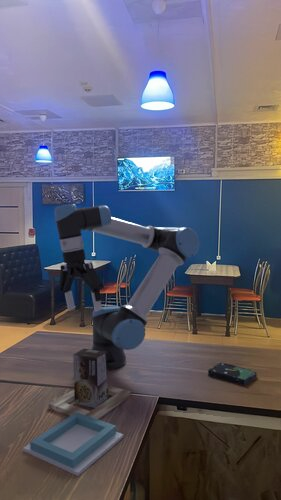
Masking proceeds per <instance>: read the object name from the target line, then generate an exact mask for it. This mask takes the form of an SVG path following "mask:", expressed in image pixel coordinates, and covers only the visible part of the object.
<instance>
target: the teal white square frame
mask: <svg viewBox="0 0 281 500" xmlns="http://www.w3.org/2000/svg"><path fill="white" fill-rule="evenodd" d="M123 438H124V434H123V433H121V432H117V425H115V424H112V423H109V422H106V421H103V420H100V419H95V418H92V417H89V416H86V415H83V414H80V413H77V412H76V413H74V414H73V415H71V416H68V417H66V418H65V419H63V420H62V421H59V423H57V424H55V425H54V426H53V427H51V428H49V429H47V430H45V432H43V433H41V434H39V436H36V437H35V438H33V439H31V440H30V441H29V443H28V444H27V445H25V446H24V447H23V448H22V449H23V452H25V453H27V454H29V455H31V456H34V457H36V458H37V459H39V460H43V461H45V462H46V463H48V464H51V465H53V466H56V467H58V468H60V469H62V470H65V472H68V473H71V474H73V475H75V476H77V477H79V476H80V475H81V474H82V473H84V472H85V471H86V470H88V469H89V467H91V466H92V465H93V464H94V463H95V462H96V461H97V460H99V459H100V458H102V456H103V455H104V454H105V453H107V452H108V451H109V450H111V449H112V448H113V447H114V446H115V445H116V444H118V443H119V441H121V440H122V439H123Z"/></svg>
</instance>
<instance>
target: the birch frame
mask: <svg viewBox="0 0 281 500" xmlns="http://www.w3.org/2000/svg"><path fill="white" fill-rule="evenodd" d="M131 395H132V393H131V391H130V390H127V389H122V388H119V387H115V386H112V385H108V396H111V397H109V398H108V400H107V401H105V402H104V403H102V404H101V405H99V406H98V407H96V408H93V409H92V410H88V409H85V408H82V407H79V406H76V405H72V404H70V403H71V402H75V398H74V389H73V390H71V391H69V392H67V393H66V394H64V395H62V396H59V397H58V398H56V399H55V400H53V401H51V402H50V403H48V409H50V410H52V411H55V412H58V413H60V412H61V413H60V414H64V415H67V416H68V417H70V416H71V415H73V414H74V413H76V412H77V413H80V414H83V415H86V416H89V417H92V418H95V419H98V420H100V418H102V417H103V416H105V415H106V414H108V413H109V412H111V411H112V410H113V409H115V408H117V406H119V405H120V404H122V403H123V402H124V401H126V400H128V399H129V398H130V397H131Z"/></svg>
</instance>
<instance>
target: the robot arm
mask: <svg viewBox="0 0 281 500" xmlns="http://www.w3.org/2000/svg"><path fill="white" fill-rule="evenodd" d="M54 220H55V224H56V228H57V232H58V233H57V234H58V237H59V243H60V249H61V251H62V258H63V263H65V264H61V265H60V266H59V267H60V276H59V277H60V278H59V285H58V291H59V292H62V293H63V294H64V295H63V296H64V300H65V302H66V306H67V310H68V312H70V311H72V310H75V309H76V306H75V301H74V296H73V291H72V285H73V282H74V280H75V278H80V279H82V280H83V282H85V284H86V285H87V286H88V287H89V289H90V290H91V292H90V294H91V298H92V304H93V310H92V315H91V316H92V317H91V319H92V347H91V349H92V350H98V351H105V352H107V370H113V368H115V369H118V367H119V368H121V367H124V366H125V365H124V364H126V363H127V357H126V353H125V350H126V351H129V350H134V349H136V348H138V347H139V346H140V345H141V344H142V343H143V341H144V339H145V337H146V328H145V326H146V325H147V323H148V318H147V316H148V314H149V313H150V312H151V309H152V308H153V306H154V304H155V303H156V302H157V300H158V298H159V297H160V295H161V294H162V292H163V290H164V288H165V287H166V286H167V284H168V282H169V280H170V279H171V277H172V276H173V274H174V273H175V271H176V269H177V268H178V267H180V266H182V265H184V263H185V262H186V260H187V259H188V258H192V257H194V256H195V255H196V254H197V253H198V251H199V248H200V238H199V236H198V233H197V232H196V231H195V230H194V229H192V228H190V227H186V226H181V227H164V226H163V227H158V226H152V225H147V226H143V225H140V224H137V223H133V222H131V221H130V222H129V221H126V220H123V219H120V218H116V217H113V216H112V213H111V210H110V207H108V206H107V205H96V206H88V207H82V208H81V207H77V205H76V204H75V203H70V204H69V203H68V204H63V205H59V206H56V207H55V208H54ZM82 231H88V232H89V231H90V232H93V233H97V234H101V235H105V236H108V237H113V238H116V239H119V240H123V241H127V242H131V243H134V244H135V243H136V244H138V245H141V246H142V248H145V249H149V250H152V251H154V252H157V253H158V257H157V258H156V260H155V261H154V263H153V264H152V266H151V267H150V269H149V270H148V272H147V274H145V277H143V280H142V281H141V283H140V284H139V285H138V287H137V289H136V290H135V292H134V293H133V295H132V296H131V298H130V299H129V302H128V303H126V304H123V305H121V306H117V305H114V306H113V305H111V306H102V303H101V300H102V297H101V290H102V289H104V287H105V286H104V284H103V283H102V281H101V279H100V277H99V275H98V273H97V272H96V270H95V267H94V265H93V262H92V261H90V262H87V263H86V262H85V260H86V258H87V256H86V253H85V252H86V251H85V249H84V241H83V236H82Z"/></svg>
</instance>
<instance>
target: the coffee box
mask: <svg viewBox="0 0 281 500" xmlns="http://www.w3.org/2000/svg"><path fill="white" fill-rule="evenodd" d="M72 358H73V359H72V360H73V361H72V362H73V365H72V366H73V390H74V398H75V400H74V404H75V405H79V406H85V407H88V408H93V409H95V408H96V407H98V406H99V405H101V404H102V403H104V402H105V401H107V400H108V399H109V395H108V386H109V384H108V369H107V352H105V351H98V350H92V348H82V349H80V350H79V351H77V352H76V353H73V355H72Z"/></svg>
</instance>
